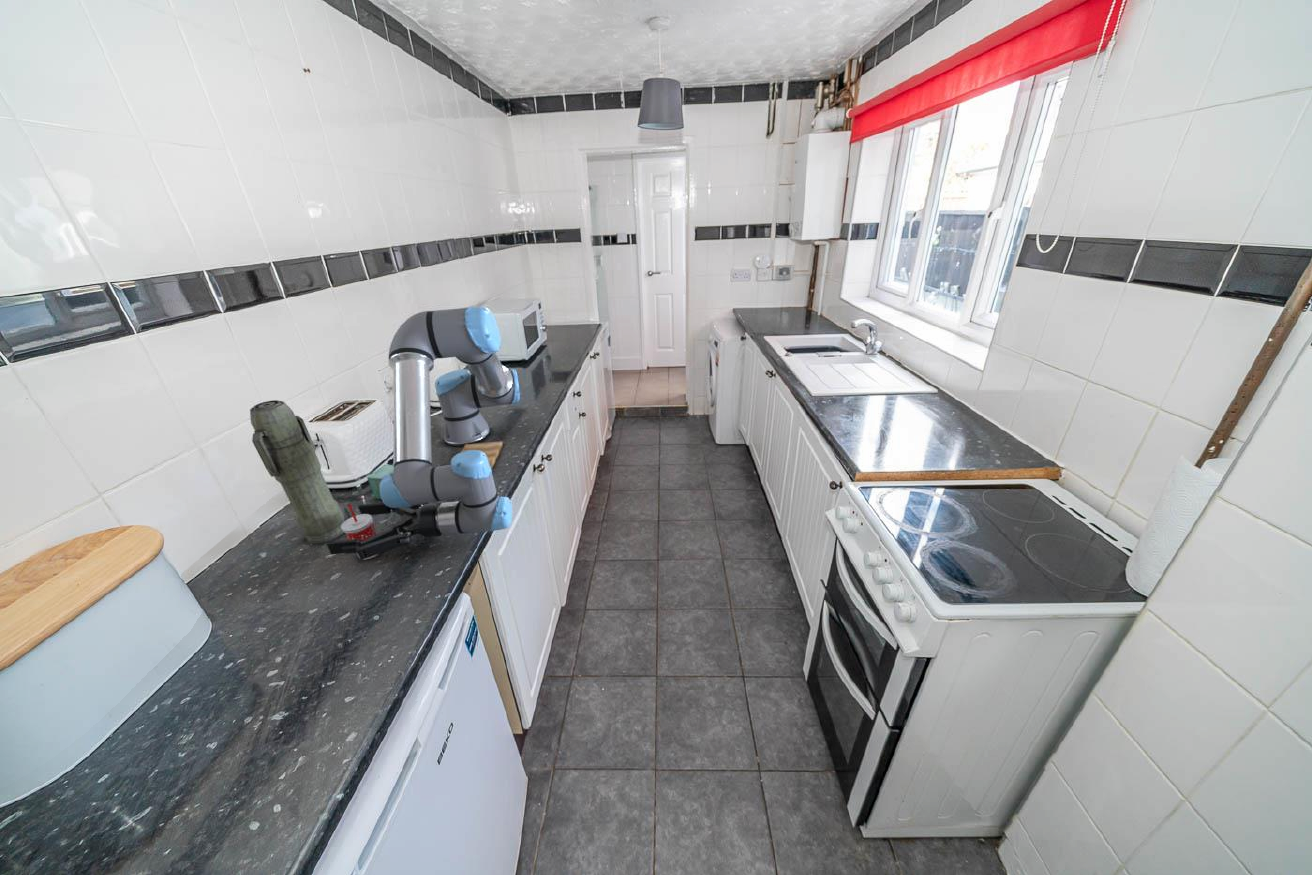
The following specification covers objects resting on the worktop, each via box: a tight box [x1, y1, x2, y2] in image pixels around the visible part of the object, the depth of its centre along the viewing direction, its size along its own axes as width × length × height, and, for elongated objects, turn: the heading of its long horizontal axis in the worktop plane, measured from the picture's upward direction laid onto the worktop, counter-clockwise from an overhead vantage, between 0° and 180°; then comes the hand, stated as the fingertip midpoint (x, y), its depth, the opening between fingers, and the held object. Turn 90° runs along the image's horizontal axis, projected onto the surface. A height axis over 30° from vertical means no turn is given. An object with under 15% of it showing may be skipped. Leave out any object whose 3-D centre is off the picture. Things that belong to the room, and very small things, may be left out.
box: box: [366, 464, 394, 500], centre depth 127 cm, size 7×14×8 cm, turn 79°
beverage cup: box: [341, 502, 379, 561], centre depth 103 cm, size 6×6×14 cm
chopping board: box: [460, 441, 503, 470], centre depth 144 cm, size 18×12×2 cm, turn 5°
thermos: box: [249, 399, 346, 545], centre depth 106 cm, size 9×12×35 cm
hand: (346, 528), depth 103 cm, fingers open, 13 cm apart
